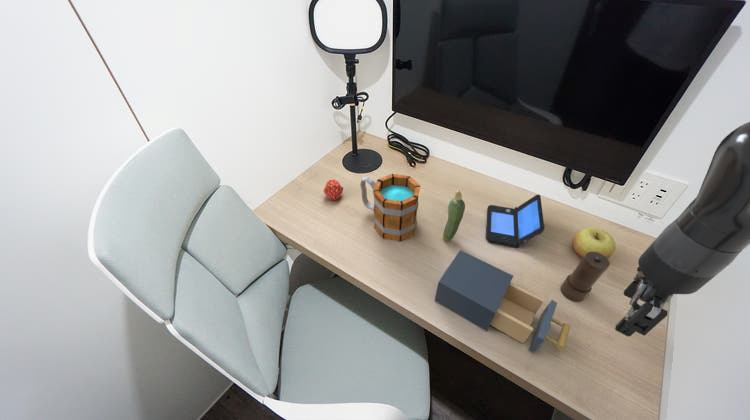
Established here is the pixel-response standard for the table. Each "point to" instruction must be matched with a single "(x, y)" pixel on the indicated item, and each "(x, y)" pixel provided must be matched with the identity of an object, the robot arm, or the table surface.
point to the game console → (515, 223)
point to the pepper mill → (584, 276)
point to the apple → (593, 242)
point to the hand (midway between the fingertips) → (625, 313)
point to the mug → (393, 205)
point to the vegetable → (454, 216)
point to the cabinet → (472, 289)
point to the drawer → (527, 318)
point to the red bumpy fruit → (333, 189)
